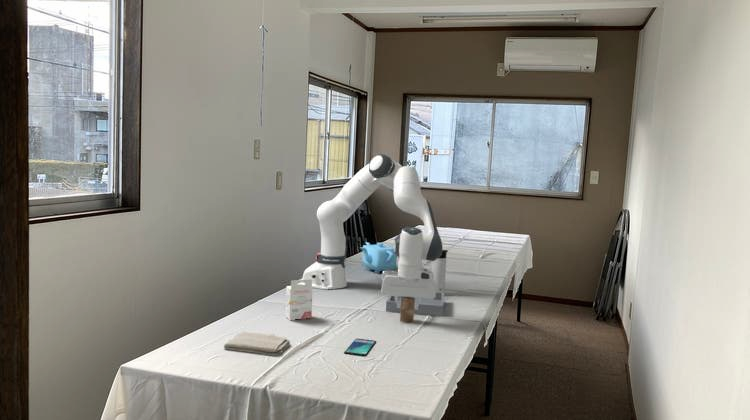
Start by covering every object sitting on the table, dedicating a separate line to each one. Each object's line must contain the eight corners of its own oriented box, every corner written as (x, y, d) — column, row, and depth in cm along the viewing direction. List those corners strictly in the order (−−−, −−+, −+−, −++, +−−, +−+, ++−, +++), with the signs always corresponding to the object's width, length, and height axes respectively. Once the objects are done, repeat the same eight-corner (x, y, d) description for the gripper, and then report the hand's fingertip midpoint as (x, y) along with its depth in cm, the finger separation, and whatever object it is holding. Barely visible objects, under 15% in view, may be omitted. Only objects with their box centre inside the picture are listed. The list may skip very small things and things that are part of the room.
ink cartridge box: (306, 315, 220) (308, 276, 218) (311, 318, 216) (313, 279, 214) (284, 317, 216) (286, 277, 215) (289, 321, 212) (290, 280, 210)
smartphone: (376, 340, 194) (365, 355, 180) (376, 342, 194) (365, 357, 180) (355, 338, 196) (343, 352, 181) (355, 340, 196) (343, 355, 181)
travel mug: (444, 296, 259) (447, 251, 257) (429, 294, 260) (431, 250, 258) (445, 293, 265) (448, 249, 263) (430, 291, 267) (433, 247, 264)
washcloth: (278, 357, 176) (279, 347, 176) (222, 351, 179) (222, 341, 179) (291, 345, 188) (291, 335, 188) (238, 339, 191) (238, 329, 191)
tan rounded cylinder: (399, 321, 218) (400, 298, 217) (400, 318, 223) (402, 294, 222) (413, 323, 217) (414, 299, 216) (413, 319, 222) (415, 295, 221)
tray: (385, 311, 231) (386, 301, 230) (391, 297, 252) (392, 288, 252) (442, 316, 228) (443, 306, 228) (443, 302, 250) (444, 292, 249)
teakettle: (393, 276, 295) (395, 247, 294) (356, 272, 298) (358, 244, 297) (398, 269, 314) (400, 241, 312) (364, 265, 317) (365, 238, 315)
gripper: (380, 271, 216) (378, 308, 218) (436, 275, 213) (434, 313, 215) (382, 267, 222) (380, 303, 224) (437, 272, 220) (435, 308, 221)
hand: (407, 308), depth 219 cm, fingers closed on tan rounded cylinder, 5 cm apart
